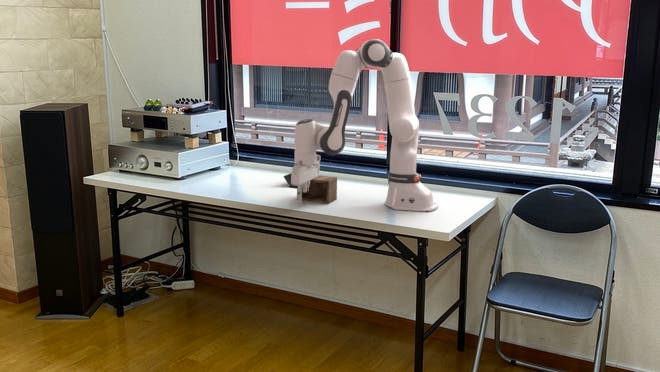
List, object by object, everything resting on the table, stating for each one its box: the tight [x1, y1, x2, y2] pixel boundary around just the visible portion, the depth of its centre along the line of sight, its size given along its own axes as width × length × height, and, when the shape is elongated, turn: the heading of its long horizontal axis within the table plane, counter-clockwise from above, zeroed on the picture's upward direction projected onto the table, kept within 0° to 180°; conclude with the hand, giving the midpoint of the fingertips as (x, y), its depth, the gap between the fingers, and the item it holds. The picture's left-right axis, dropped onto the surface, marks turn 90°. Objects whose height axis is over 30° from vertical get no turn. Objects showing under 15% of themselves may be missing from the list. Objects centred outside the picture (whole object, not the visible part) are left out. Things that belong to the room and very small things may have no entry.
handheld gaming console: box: [283, 172, 297, 189], centre depth 305 cm, size 12×7×10 cm
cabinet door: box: [296, 185, 303, 207], centre depth 269 cm, size 12×2×9 cm, turn 7°
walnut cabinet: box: [296, 174, 338, 205], centre depth 277 cm, size 15×9×10 cm, turn 67°
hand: (305, 191), depth 265 cm, fingers closed
